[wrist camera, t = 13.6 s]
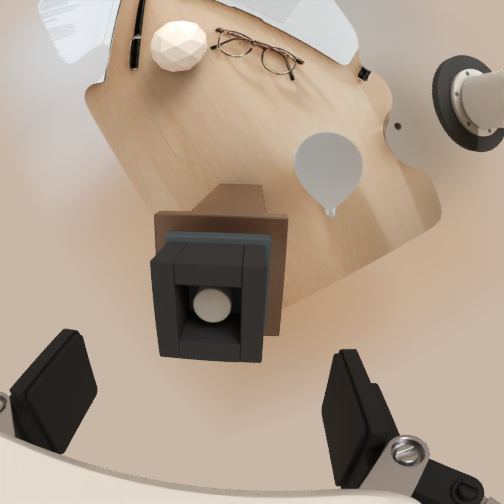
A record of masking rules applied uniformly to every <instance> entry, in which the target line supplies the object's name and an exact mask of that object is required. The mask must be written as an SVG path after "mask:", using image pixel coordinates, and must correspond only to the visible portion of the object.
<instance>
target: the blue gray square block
mask: <svg viewBox="0 0 504 504" xmlns="http://www.w3.org/2000/svg"><path fill="white" fill-rule="evenodd" d="M167 242H187V243H188V242H193V243H221V244H243V245H244V246H245V245H265V247H266V257H267V267H268V269H267V286H266V302H265V318H264V333H265V332H266V320H267V305H268V289H269V273H270V256H271V235H270V234H246V233H218V232H186V231H170V232H169V233H168V234H167V235H166V236H165V244H166V243H167ZM241 295H242V286H241V287H240V288H237V287H214V286H194V285H189V304H190V311H195V312H196V314H197V315H198V316H199V317H200V318H201V319H203V320H205V321H207V322H220V321H222V320H224V319H225V318H226V317H227V316H228V315H229V314H230V313H233V314H241Z"/></svg>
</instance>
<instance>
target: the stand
mask: <svg viewBox="0 0 504 504" xmlns="http://www.w3.org/2000/svg"><path fill="white" fill-rule="evenodd" d="M154 225H155V248H156V254H157V253H158V252H159V251H160V250H161V249H162V248H163V247H164V246H165V236H166V235H167V234H168V233H169V232H170V231H186V232H218V233H246V234H270V235H271V256H270V273H269V289H268V305H267V320H266V332H265V333H264V334H263V336H279V331H280V321H281V310H282V298H283V286H284V273H285V260H286V246H287V232H288V217H287V215H285V214H266V208H265V203H264V197H263V192H262V186H261V185H242V184H219V185H218V186H217V187H216V188H215V189H214V190H213V191H212V192H211V193H210V194H208V195H207V196H206V197H205V198H204V199H203V200H202V201H201V202H200V203H199V204H198V205H197V206H196V207H195V208H194V209H193V210H192V211H159V212H157V213H156V214H154Z"/></svg>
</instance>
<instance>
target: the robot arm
mask: <svg viewBox="0 0 504 504" xmlns="http://www.w3.org/2000/svg"><path fill="white" fill-rule="evenodd" d="M451 101H452V105H453V109H454V111H455V114H456V116H457V118H458V120H459V121H460V123H461V124H462V125H463V126H464V127H465V128H466V129H467V130H468V131H469V132H470V133H472V134H474V135H477V136H489V135H491V134H493V133H494V132H495V131H496V130H497V128H504V69H503V70H499V71H494V72H490V73H485V74H483V73H482V72H480V71H478V70H475V69H466V70H463V71H460V72H459V73H458V74H457V75H456V76H455V77H454V79H453V82H452V85H451ZM10 392H11V395H10V397H8V395H7V394H5V393H3V392H0V504H500V503H499V502H497V501H496V500H495V499H493V498H492V497H490V498H489V499H487V498H486V497H484V488H483V486H482V484H481V483H480V482H479V481H478V479H476V478H474V477H472V476H470V475H467V474H465V473H462V472H460V471H457V470H455V469H452V468H450V467H448V466H445V465H443V464H440V463H438V462H436V461H434V460H431V459H429V455H430V453H429V448H428V447H427V445H426V443H424V442H423V441H422V440H421V439H419V438H417V437H415V436H411V435H401V436H400V434H399V432H398V430H397V427H396V425H395V423H394V420H393V418H392V415H391V413H390V411H389V408H388V406H387V404H386V401H385V399H384V397H383V394H382V392H381V390H380V388H379V386H378V384H376V383H371V382H370V380H369V377H368V375H367V373H366V370H365V368H364V366H363V363H362V361H361V359H360V356H359V354H358V352H357V350H356V349H341V350H340V351H339V353H337V354H334V356H333V361H332V365H331V370H330V375H329V379H328V384H327V388H326V392H325V396H324V400H323V404H322V418H323V423H324V428H325V433H326V438H327V443H328V447H329V453H330V459H331V464H332V469H333V474H334V480H335V484H336V486H341V489H336V490H335V489H333V490H310V491H250V490H230V489H217V488H207V487H198V486H190V485H183V484H176V483H169V482H163V481H158V480H153V479H147V478H143V477H138V476H133V475H128V474H125V473H120V472H116V471H112V470H109V469H104V468H101V467H97V466H94V465H91V464H87V463H84V462H81V461H78V460H75V459H72V458H69V457H66V456H63V455H61V454H63V453H64V452H65V451H66V449H67V447H68V445H69V443H70V442H71V439H72V438H73V436H74V434H75V432H76V430H77V429H78V427H79V425H80V423H81V421H82V419H83V418H84V416H85V414H86V412H87V411H88V409H89V407H90V405H91V404H92V402H93V400H94V398H95V397H96V395H97V385H96V382H95V379H94V375H93V372H92V369H91V365H90V362H89V358H88V354H87V351H86V347H85V343H84V339H83V336H82V335H80V333H79V332H78V331H77V330H71V329H63V330H62V331H61V332H60V333H59V334H58V335H57V336H56V337H55V339H54V340H53V341H52V342H51V343H50V344H49V345H48V346H47V348H45V350H44V351H43V352H42V353H41V354H40V355H39V356H38V357H37V359H36V360H35V361H34V362H33V363H32V364H31V365H30V366H29V368H28V369H27V370H26V371H25V372H24V373H23V374H22V376H21V377H20V378H19V379H18V380H17V382H16V383H15V384H14V385H13V386H12V387H11V389H10Z"/></svg>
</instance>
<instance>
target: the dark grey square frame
mask: <svg viewBox="0 0 504 504" xmlns="http://www.w3.org/2000/svg"><path fill="white" fill-rule="evenodd" d="M150 267H151V280H152V291H153V302H154V311H155V321H156V329H157V337H158V345H159V352H160V356H163V357H173V358H182V359H194V360H195V359H196V360H208V361H224V362H252V363H261V361H262V349H263V334H264V318H265V302H266V286H267V269H268V267H267V257H266V247H265V245H245V246H244V245H243V244H221V243H193V242H188V243H187V242H167V243H166V244H165V246H164V247H163V248H162V249H161V250H160V251H159V252H158V253H157V254H156V255H155V257H154V258H153V259H152V260H151V261H150ZM189 285H194V286H214V287H237V288H240V287H241V286H242V295H241V314H233V313H230V314H229V315H228V316H227V317H226V318H225V319H224V320H222V321H220V322H207V321H205V320H203V319H201V318H200V317H199V316H198V315H197V314H196V312H195V311H190V304H189Z"/></svg>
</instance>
